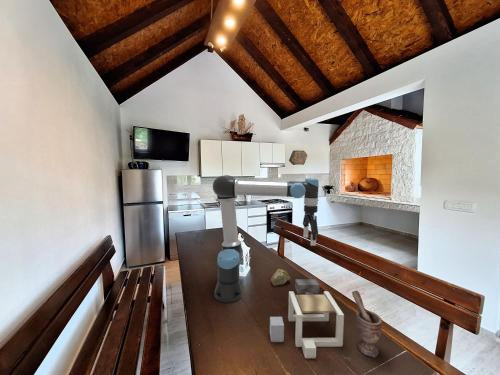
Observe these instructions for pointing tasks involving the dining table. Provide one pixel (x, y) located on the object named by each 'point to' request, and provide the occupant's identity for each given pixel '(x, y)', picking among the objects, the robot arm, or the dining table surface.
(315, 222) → the robot arm
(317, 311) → the trapdoor
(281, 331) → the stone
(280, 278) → the rock
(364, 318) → the mortar and pestle
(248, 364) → the dining table surface
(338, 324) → the frame
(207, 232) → the dining table surface
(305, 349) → the pumice block
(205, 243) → the dining table surface
